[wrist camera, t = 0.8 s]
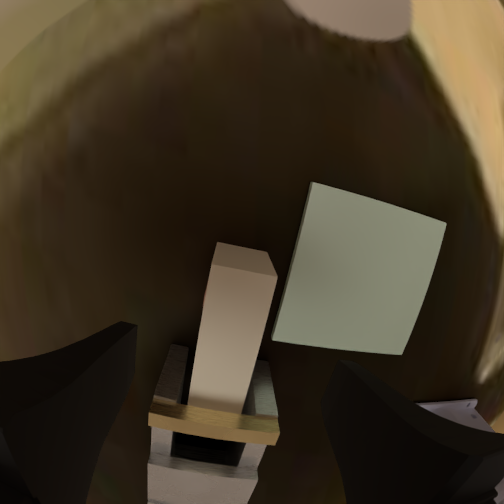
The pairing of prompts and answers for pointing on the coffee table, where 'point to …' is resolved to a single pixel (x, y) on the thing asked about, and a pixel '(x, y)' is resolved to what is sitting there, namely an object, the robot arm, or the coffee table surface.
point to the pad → (357, 273)
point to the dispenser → (212, 426)
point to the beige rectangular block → (231, 327)
